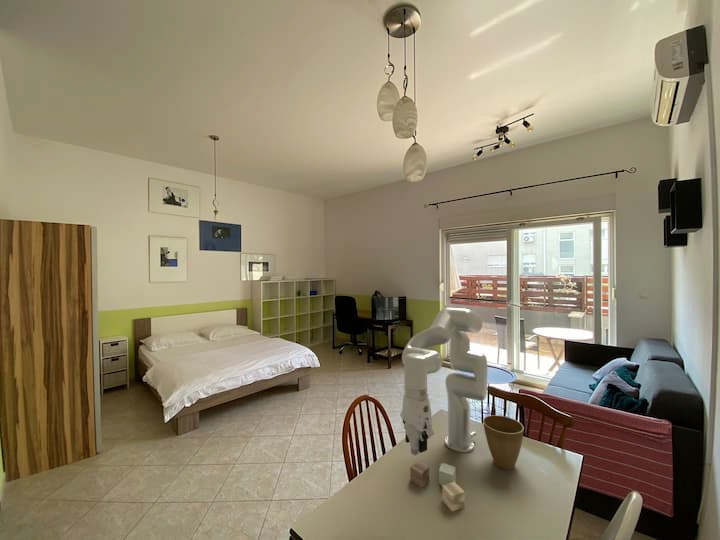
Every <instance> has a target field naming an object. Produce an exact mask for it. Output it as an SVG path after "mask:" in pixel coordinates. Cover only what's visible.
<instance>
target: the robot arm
mask: <svg viewBox="0 0 720 540" xmlns="http://www.w3.org/2000/svg"><path fill="white" fill-rule="evenodd" d="M482 327H483V318H482V315H480V314H479V312H476V311H474V310H471V309H468V308H460V307H459V308H458V307H444V308H441V310H439V312H438V313H437V315H436V316H435V318H434V320H433V322H432V324H431V325H430V327H428V328H426V329H424V330H422V331H420V332H418V333H416V334H415V335H413V336H412V337H411V338H410V339H409V341H408V342H407V344H406V345H405V347H404V349H403V351H402V354H401V362H402V364H403V365H404V366H403V367H404V370H403V372H404V373H403V375H404V376H403V377H404V378H403V379H404V380H403V381H404V382H403V384H404V385H403V386H404V387H403V388H404V393H403V399H402V407H401V409H402V411H401V412H400V413H399V414H400V415H399V416H400V417H401V419H402V424H403V425H404V426H403V428H404V430H405V443H407V444H408V443H410V441H409V438H408V437H407V434H406V427H407V425H408V424H411V425H412V426H413V427H414V428H415V429H417V430H418V432H419V437H420V440H419V453H420V454H421V453H423V452H426V451H427V450H428V439H429V438H431V437H432V436H433V435H435V433H434V430H433V428H432V427H433V424H432V423H433V422H432V421H433V420H432V408H431V407H432V406H431V403H430V402H431V401H430V399H429V393H428V375H429V374H435V373H437V372H438V371H440V370H441V369H442V366H443V361H444V360H443V356H442V355H441V353H440V352H438V351H437V350H432V349H427V348H431V347H436V346H441V345H444V344H447V343H448V342H449V341H450V342H449V343H450V344H449V345H450V347H449V348H450V349H449V365H450V368H452V369H453V370H456V371H459V372H464V373H468V374H473V375H474V376H473V375H468V374H463V373H458V372H452V373H451V372H450V373H449V374H447V376H446V377H445V381H444V382H445V388H446V396H447V436H446V437H445V438H444V445H445V446H446V447H447V448H448V449H450V450H452V451H454V452H456V453H470V452H472V451H473V450H474V449H475V444H474V442H473V441H472V439H473V438H475V437H476V436H477V432H476V431H472V432H471V406H470V403H469V401H468V399H470V400H473V401H477V402H482V401H485V400H486V398H487V395H488V359H487V357H486V355H485V354H484V353H482V352H479V351H475V350H471V349H470V348H471V346H470V345H471V343H470V341H471V340H470V337H469V335H468V333H474V334H476V333H479V332H481V330H482ZM423 431H424V435H423V434H422V432H423Z"/></svg>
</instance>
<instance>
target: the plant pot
mask: <svg viewBox="0 0 720 540" xmlns="http://www.w3.org/2000/svg"><path fill="white" fill-rule="evenodd" d="M482 422H483V423H482V424H483V429H484V434H485V437H486V442H487V447H488V449H489V452H490V454H491V457H492V460H493V462H494V464H495V465H496V466H498V467H499V468H501V469H504V470H510V469H513V468H514V467H515V466H516V463H517V461H518V458H519V455H520V451H521V449H522V444H523V439H524V429H525V427H524V426H523V424H522V423H521V422H520V421H518V420H517V419H515V418H511V417H508V416H505V415H499V414H498V415H496V414H495V415H494V414H493V415H488V416H485V417H484V418H483V419H482Z"/></svg>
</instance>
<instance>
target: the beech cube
mask: <svg viewBox="0 0 720 540" xmlns="http://www.w3.org/2000/svg"><path fill="white" fill-rule="evenodd" d="M441 486H442V485H441ZM441 490H442V491H441V493H442V496H441V497H442V502H443V503H444V505H446V506H447V507H448V509H449V510H450V511H451V512H454V511H457V510H460V509H464V508H465V491H464V490H463V489H462V488H461V486H459V485H458V484H457V483H456V481H455V482H452V483H449V484H446V485H443V486H442V489H441Z"/></svg>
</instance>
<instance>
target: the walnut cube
mask: <svg viewBox="0 0 720 540" xmlns="http://www.w3.org/2000/svg"><path fill="white" fill-rule="evenodd" d="M409 468H410V471H409V473H410V476H409V477H410V480H409V481H410V482H412V483H414V484H416V485H417V486H419V487H421V488H423V487H424V486H426V484H427V483H429V481H430V466H428V465H426V464H424V463H422V462H421V461H419V460H417V461H416V462H415V463H413V464H412V465H411V466H410V467H409Z"/></svg>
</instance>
